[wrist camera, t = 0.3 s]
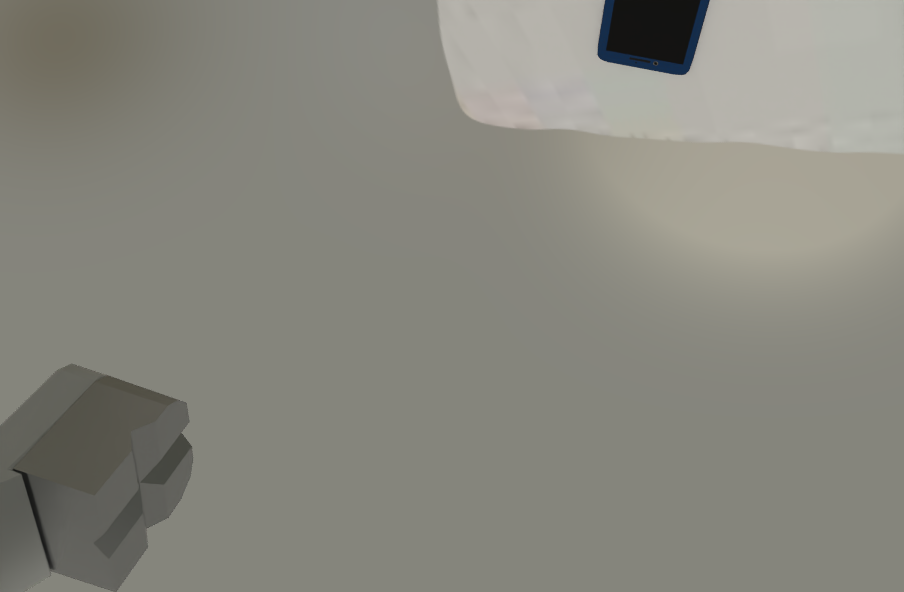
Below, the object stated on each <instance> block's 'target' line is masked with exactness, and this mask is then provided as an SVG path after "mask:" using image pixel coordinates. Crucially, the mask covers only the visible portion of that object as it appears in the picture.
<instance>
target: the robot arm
mask: <svg viewBox="0 0 904 592" xmlns="http://www.w3.org/2000/svg"><path fill="white" fill-rule="evenodd" d="M188 423H189V416H188V409H187V403H186V402H183V401H180V400H177V399H174V398H171V397H168V396H165V395H163V394H160V393H157V392H154V391H151V390H148V389H145V388H142V387H139V386H136V385H134V384H131V383H128V382H125V381H122V380H120V379H117V378H114V377H111V376H108V375H105V374H102V373H99V372H95V371H92V370H90V369H87V368H84V367H81V366H77V365H74V364H70V365H68V366H65V367H63V368H61V369H58V370H57V371H56V372H55V373H54V374H53V375H52V376H51V377H50V378H49V379H47V381H45V382H44V383H43V384H42V385H41V386H40V387H39V388H38V389H37V390H36V391H35V392H34V393H33V394H32V395H31V396H30V397H29V398H28V399H27V400H26V401H25V402H24V403H23V404H22V405H21V406H20V407H19V408H18V409H17V410H16V411H15V412H14V413H13V414H12V415H11V416H10V417H9V418H8V419H7V420H6V421H5V422H4V423H3V424H2V425H1V426H0V592H25V591H26V590H28V589H30V588H31V587H33V586H35V585H36V584H38V583H40V582H41V581H43V580H45V579H46V578H48V577H50V576H51V571H53V572H56V573H59V574H62V575H65V576H68V577H71V578H74V579H77V580H80V581H83V582H86V583H90V584H93V585H96V586H98V587H101V588H105V589H108V590H111V591H114V592H116V591H117V590H118V588H119V587H120V586H121V584H122V583H123V582H124V580H125V579H126V577H127V576H128V575H129V573H130V572H131V570H132V569H133V567H134V566H135V565H136V563H137V562H138V560H139V559H140V558H141V556H142V555H143V553H144V552H145V551H146V549H147V548H148V543H147V542H148V541H147V528H149V527H150V526H153V525H155V524H157V523H159V522H161V521H163V520H165V519H167V518H169V516H170V515H171V513H172V512H173V510H174V509H175V507H176V506H177V504H178V503H179V501H180V499H181V498H182V496H183V493H184V491H185V488H186V486H187V483H188V481H189V479H190V476H191V470H192V463H193V453H192V446H191V445H190V443H189V442H188V441H187V439H186V438H185V437H184V435H183V434H182V433H181V432H182V431H183V429H184V428H185V427H186V426H187V424H188Z"/></svg>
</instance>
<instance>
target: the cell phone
mask: <svg viewBox="0 0 904 592" xmlns="http://www.w3.org/2000/svg"><path fill="white" fill-rule="evenodd" d="M708 4H709V0H605V5H604V11H603V18H602V24H601V30H600V36H599V43H598V56H599V58H600V59H602V60H604V61H607V62H611V63H616V64H622V65H627V66H632V67H638V68H643V69H648V70H654V71H659V72H664V73H669V74H676V75H684V74H686V73H687V72H688V71H689V69H690V66H691V63H692V61H693V58H694V54H695V51H696V47H697V43H698V40H699V36H700V33H701V29H702V26H703V22H704V18H705V15H706V11H707V8H708Z"/></svg>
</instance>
